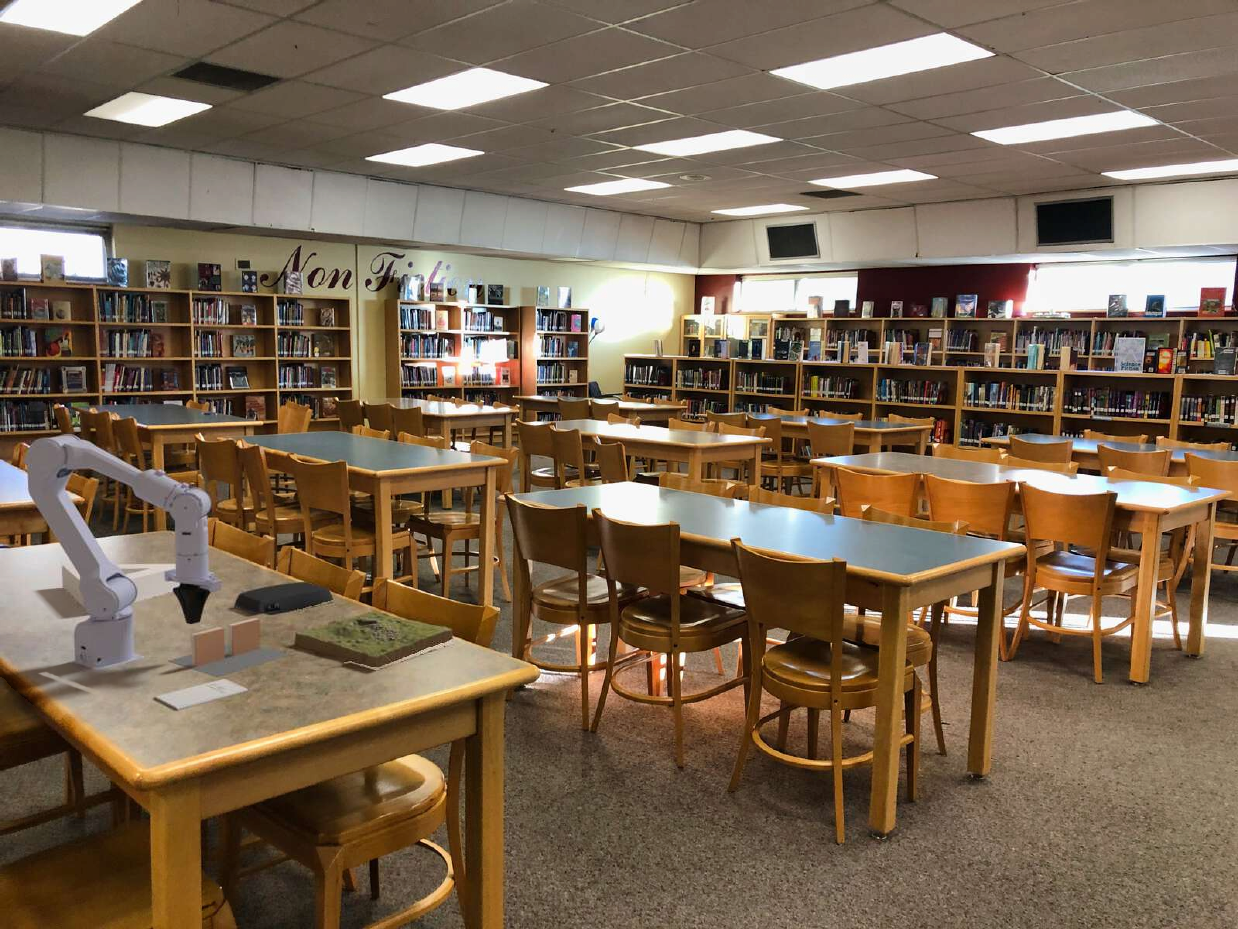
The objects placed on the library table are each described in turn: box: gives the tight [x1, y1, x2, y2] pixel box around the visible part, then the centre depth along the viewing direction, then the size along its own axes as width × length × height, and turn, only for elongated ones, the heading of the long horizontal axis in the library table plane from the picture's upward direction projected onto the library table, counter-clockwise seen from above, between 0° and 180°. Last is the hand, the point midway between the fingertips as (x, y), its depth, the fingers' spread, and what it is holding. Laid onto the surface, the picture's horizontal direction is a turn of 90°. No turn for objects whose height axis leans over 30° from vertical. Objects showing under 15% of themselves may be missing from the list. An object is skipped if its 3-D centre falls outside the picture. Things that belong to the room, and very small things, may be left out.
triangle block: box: [61, 563, 180, 608], centre depth 224 cm, size 30×26×6 cm
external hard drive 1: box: [153, 678, 249, 711], centre depth 158 cm, size 2×8×12 cm
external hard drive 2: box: [233, 581, 334, 616], centre depth 219 cm, size 13×19×4 cm
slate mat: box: [168, 643, 291, 678], centre depth 178 cm, size 16×15×1 cm
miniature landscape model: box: [294, 611, 454, 667], centre depth 190 cm, size 22×24×5 cm
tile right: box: [228, 617, 261, 656], centre depth 181 cm, size 6×2×6 cm, turn 149°
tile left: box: [190, 626, 226, 667], centre depth 174 cm, size 6×2×6 cm, turn 149°
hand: (193, 622), depth 176 cm, fingers closed
